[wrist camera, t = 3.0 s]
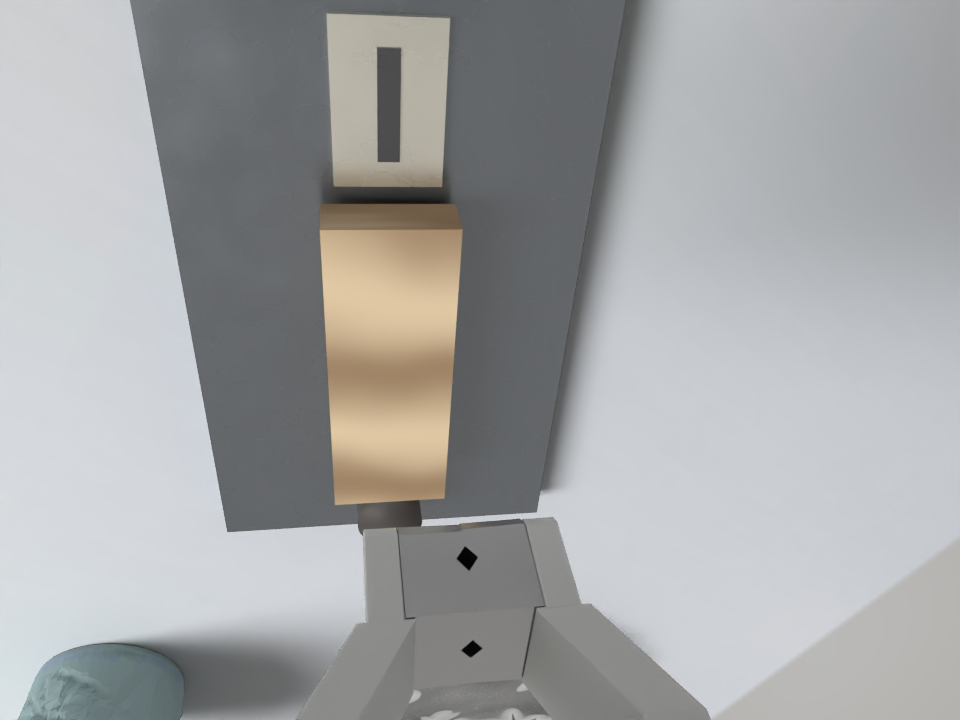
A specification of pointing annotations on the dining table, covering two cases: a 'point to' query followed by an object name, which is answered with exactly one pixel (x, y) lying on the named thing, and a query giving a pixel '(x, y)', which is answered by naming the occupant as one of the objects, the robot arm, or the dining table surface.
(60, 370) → the dining table surface
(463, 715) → the brain section slice
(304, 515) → the gray base panel
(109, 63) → the dining table surface
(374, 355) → the swing bar
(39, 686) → the teal textured cup
